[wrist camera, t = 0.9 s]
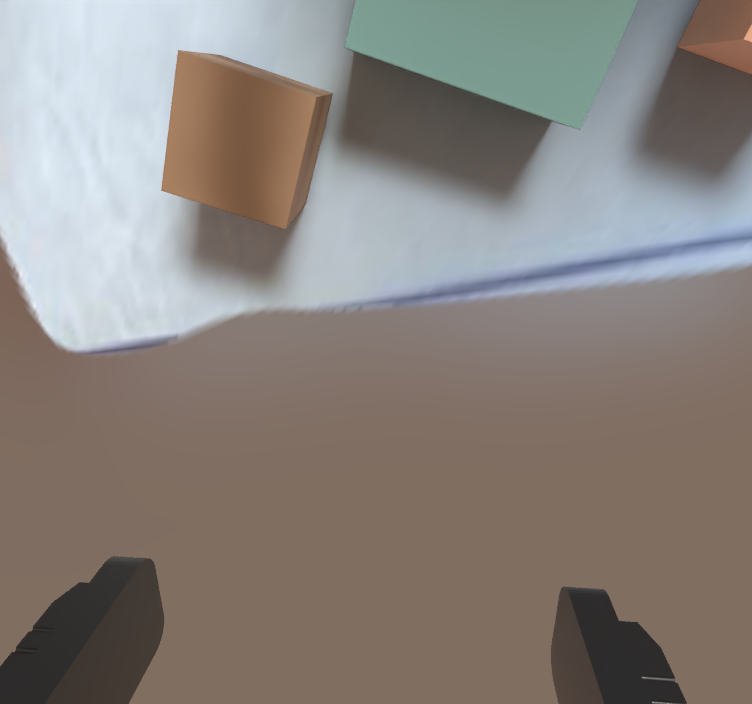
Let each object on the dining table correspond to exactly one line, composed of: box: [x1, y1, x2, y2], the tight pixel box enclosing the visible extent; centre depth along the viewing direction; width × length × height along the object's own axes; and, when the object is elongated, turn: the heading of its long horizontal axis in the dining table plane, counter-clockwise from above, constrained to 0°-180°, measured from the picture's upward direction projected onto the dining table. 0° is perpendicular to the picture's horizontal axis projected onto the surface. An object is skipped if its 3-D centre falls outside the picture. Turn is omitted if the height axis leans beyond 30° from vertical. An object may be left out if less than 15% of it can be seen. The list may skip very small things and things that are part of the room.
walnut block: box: [161, 50, 333, 229], centre depth 25 cm, size 6×6×6 cm
